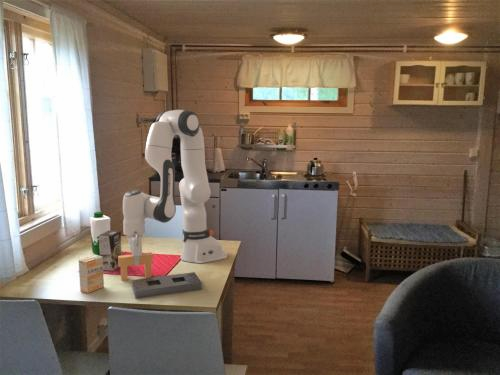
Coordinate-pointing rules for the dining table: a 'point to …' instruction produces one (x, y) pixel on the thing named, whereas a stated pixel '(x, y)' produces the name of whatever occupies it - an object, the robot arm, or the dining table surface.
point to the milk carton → (98, 229)
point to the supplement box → (91, 273)
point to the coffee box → (110, 249)
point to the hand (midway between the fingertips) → (135, 260)
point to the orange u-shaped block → (129, 261)
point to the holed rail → (166, 285)
